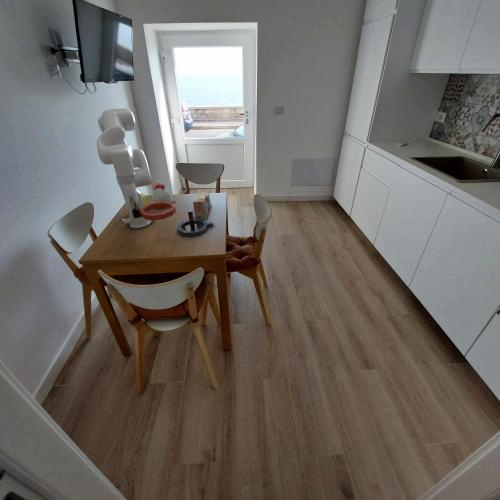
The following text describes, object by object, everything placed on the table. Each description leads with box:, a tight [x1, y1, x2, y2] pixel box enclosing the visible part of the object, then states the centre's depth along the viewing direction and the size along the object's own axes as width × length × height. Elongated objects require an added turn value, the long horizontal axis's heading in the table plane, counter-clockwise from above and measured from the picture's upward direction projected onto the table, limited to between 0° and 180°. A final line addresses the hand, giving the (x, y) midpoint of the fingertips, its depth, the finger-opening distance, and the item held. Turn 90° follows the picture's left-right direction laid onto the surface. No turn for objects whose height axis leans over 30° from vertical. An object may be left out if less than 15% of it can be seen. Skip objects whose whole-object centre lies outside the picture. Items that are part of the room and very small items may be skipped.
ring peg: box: [184, 209, 202, 231], centre depth 151 cm, size 8×8×12 cm
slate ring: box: [177, 218, 214, 238], centre depth 154 cm, size 19×16×2 cm
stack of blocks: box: [192, 191, 211, 221], centre depth 168 cm, size 21×6×12 cm, turn 179°
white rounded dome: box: [151, 182, 174, 210], centre depth 179 cm, size 14×14×15 cm
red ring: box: [139, 202, 177, 221], centre depth 130 cm, size 19×16×2 cm
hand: (137, 216), depth 129 cm, fingers closed on red ring, 2 cm apart
